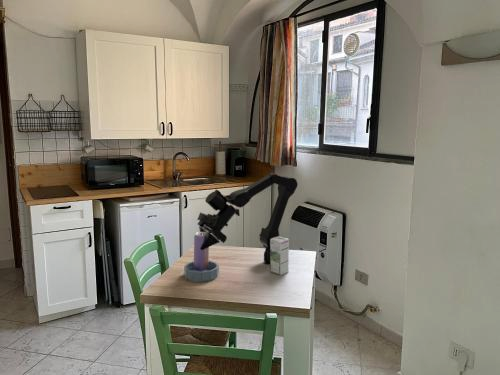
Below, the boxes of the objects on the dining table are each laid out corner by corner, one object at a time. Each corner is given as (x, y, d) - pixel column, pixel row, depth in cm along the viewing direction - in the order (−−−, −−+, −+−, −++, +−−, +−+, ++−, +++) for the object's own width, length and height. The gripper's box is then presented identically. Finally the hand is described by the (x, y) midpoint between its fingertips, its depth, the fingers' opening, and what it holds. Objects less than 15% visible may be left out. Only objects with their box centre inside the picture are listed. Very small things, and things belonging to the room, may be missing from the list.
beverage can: (197, 272, 162) (198, 236, 159) (191, 268, 167) (192, 232, 164) (210, 270, 165) (211, 234, 162) (204, 266, 170) (205, 231, 167)
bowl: (221, 270, 172) (221, 261, 171) (213, 282, 158) (213, 273, 158) (190, 268, 174) (190, 259, 173) (180, 280, 160) (180, 271, 160)
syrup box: (289, 271, 170) (289, 238, 168) (280, 275, 166) (280, 241, 163) (278, 268, 174) (278, 235, 172) (269, 272, 170) (269, 238, 167)
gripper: (201, 201, 171) (176, 230, 168) (218, 209, 155) (192, 242, 152) (218, 217, 176) (195, 245, 173) (237, 227, 160) (212, 258, 157)
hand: (198, 247), depth 163 cm, fingers closed on beverage can, 6 cm apart
